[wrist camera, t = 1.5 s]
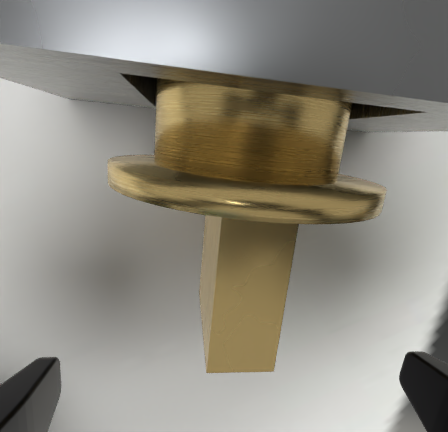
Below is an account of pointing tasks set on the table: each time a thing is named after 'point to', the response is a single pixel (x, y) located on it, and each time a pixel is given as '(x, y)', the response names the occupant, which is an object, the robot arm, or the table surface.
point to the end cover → (246, 200)
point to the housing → (239, 52)
